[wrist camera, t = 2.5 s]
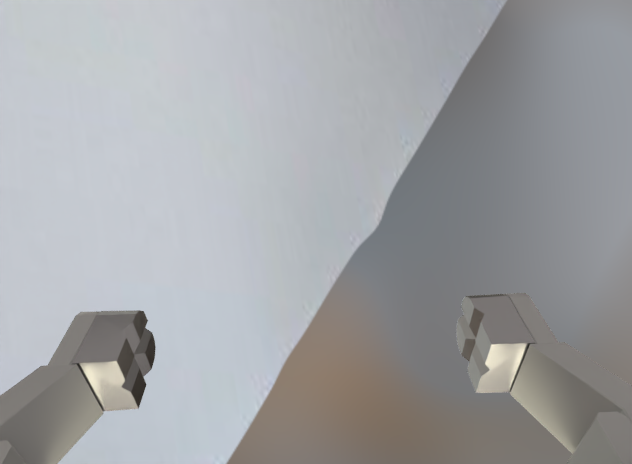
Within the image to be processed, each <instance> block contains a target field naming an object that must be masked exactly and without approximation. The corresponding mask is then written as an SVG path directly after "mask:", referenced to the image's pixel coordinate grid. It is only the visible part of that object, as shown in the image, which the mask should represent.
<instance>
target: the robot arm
mask: <svg viewBox="0 0 632 464" xmlns="http://www.w3.org/2000/svg"><path fill="white" fill-rule="evenodd" d="M461 308H462V310H463V313H464V315H462V316H461V317H460V318H459V319H458V322H457V327H456V336H457V343H458V347H459V350H460V353H461V355H462V356H463V357H464V358H466V359H467V360H468V361H469V365H468V369H467V371H468V374H469V376H470V379H471V381H472V384H473V387H474V389H475V392H476V393H496V392H511V393H510V394H511V395H512V396H513V397H514V398H515V399H516V400H517V401H518V402H519V403H520V404H521V405H522V406H523V407H524V408H525V409H526V410H527V411H528V412H529V413H531V415H533V416H534V417H535V418H536V419H537V420H538V421H539V422H540V423H541V424H542V425H543V426H544V427H545V428H546V429H547V430H548V431H549V432H550V433H551V434H553V436H554V437H556V438H557V439H558V440H559V441H560V442H561V443H562V444H563V445H564V446H565V447H566V448H567V449H568V450H569V451H570V452H571V453H572V456H571V457H570V459H569V461H568V462H567V464H632V385H630V384H629V383H627V382H625V381H624V380H622V379H621V378H619V377H617V376H616V375H615V374H613V373H611V372H610V371H608V370H607V369H605V368H604V367H602V366H601V365H599V364H597V363H596V362H594V361H593V360H591V359H590V358H588V357H587V356H585V355H583V354H582V353H580V352H579V351H577V350H576V349H574V348H572V347H571V346H569V345H568V344H566V343H565V342H562V343H559V342H558V341H557V339H556V338H555V336H554V335H553V333H552V331H551V330H550V328H549V327H548V325H547V323H546V322H545V320H544V319H543V317H542V316H541V314H540V312H539V311H538V309H537V308H536V307H535V305H534V303H533V301H532V300H531V298H530V297H529V295H527V294H526V293H516V294H515V293H514V294H496V295H477V296H466V297H465V298H464V299H463V301H462V305H461ZM147 321H148V320H147V318H146V316H145V313H144V311H140V310H138V311H101V312H80V313H79V314H78V315H76V316H75V318H74V320H73V321H72V323H71V325H70V327H69V328H68V330H67V332H66V334H65V335H64V337H63V339H62V341H61V342H60V344H59V346H58V348H57V350H56V351H55V353H54V355H53V357H52V358H51V360H50V362H49V364H48V365H47V366H40V367H39V368H38V369H36V370H35V371H34V372H32V373H31V374H30V375H28V376H27V377H25V378H24V379H23V380H21V381H20V382H19V383H17V384H16V385H15V386H13V387H12V388H10V389H9V390H8V391H6V392H5V393H4V394H2V395H1V396H0V464H57V463H58V462H59V461H60V460H61V459H62V458H63V457H64V456H65V455H66V453H67V452H68V451H69V450H70V449H71V448H72V447H73V446H74V445H75V444H76V443H77V441H78V440H79V439H80V438H81V437H82V436H83V435H84V434H85V433H86V432H87V431H88V430H89V428H90V427H91V426H92V425H93V424H94V423H95V422H96V421H97V420H98V419H99V418H100V417H101V415H102V414H103V411H113V410H127V409H138V408H139V405H140V402H141V399H142V396H143V393H144V390H145V387H146V383H145V380H144V378H143V376H145V375H146V374H147V373H148V372H149V371H150V370H151V369H152V365H153V362H154V358H155V341H154V337H153V334H152V332H150V331H149V330H147V329H146V328H145V326H146V324H147Z"/></svg>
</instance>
